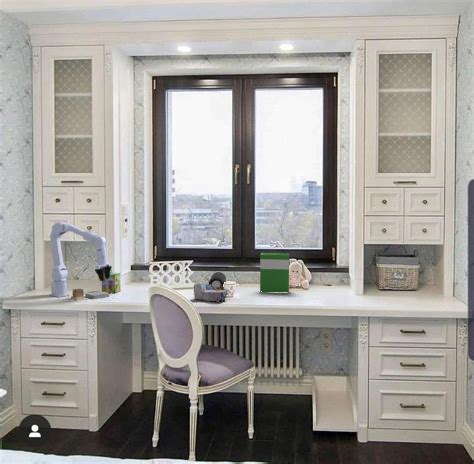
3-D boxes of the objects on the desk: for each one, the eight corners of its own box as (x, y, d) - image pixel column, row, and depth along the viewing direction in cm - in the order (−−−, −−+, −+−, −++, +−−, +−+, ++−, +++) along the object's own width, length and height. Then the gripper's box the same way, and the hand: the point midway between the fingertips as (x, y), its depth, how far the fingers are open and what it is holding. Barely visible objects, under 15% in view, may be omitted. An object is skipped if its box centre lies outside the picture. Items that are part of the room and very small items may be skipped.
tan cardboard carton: (71, 298, 341) (71, 289, 341) (78, 297, 345) (78, 288, 344) (77, 300, 336) (77, 290, 336) (85, 299, 340) (85, 289, 339)
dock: (85, 296, 346) (85, 293, 346) (99, 294, 353) (99, 291, 353) (94, 298, 339) (94, 295, 339) (109, 296, 346) (109, 293, 346)
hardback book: (288, 291, 369) (289, 253, 367) (288, 293, 362) (288, 255, 360) (261, 290, 371) (261, 253, 369) (260, 292, 364) (260, 254, 362)
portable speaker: (224, 293, 361) (224, 277, 360) (208, 293, 361) (208, 277, 360) (226, 286, 386) (226, 271, 386) (211, 286, 387) (211, 271, 386)
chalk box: (115, 293, 357) (114, 269, 356) (101, 292, 359) (100, 269, 358) (121, 290, 366) (120, 267, 365) (107, 290, 368) (107, 267, 367)
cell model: (198, 279, 347) (231, 281, 341) (198, 297, 347) (230, 299, 342) (191, 282, 334) (224, 285, 329) (190, 301, 335) (223, 304, 329)
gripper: (102, 257, 334) (105, 281, 335) (113, 254, 349) (116, 277, 349) (91, 258, 336) (94, 282, 337) (102, 255, 350) (105, 278, 351)
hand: (104, 279), depth 343 cm, fingers open, 7 cm apart
